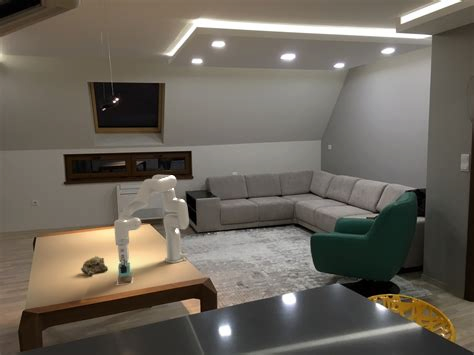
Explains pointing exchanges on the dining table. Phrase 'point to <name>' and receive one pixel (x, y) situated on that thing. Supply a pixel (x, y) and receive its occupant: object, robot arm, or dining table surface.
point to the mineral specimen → (94, 266)
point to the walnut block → (124, 279)
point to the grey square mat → (126, 283)
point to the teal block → (127, 270)
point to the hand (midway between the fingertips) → (124, 270)
